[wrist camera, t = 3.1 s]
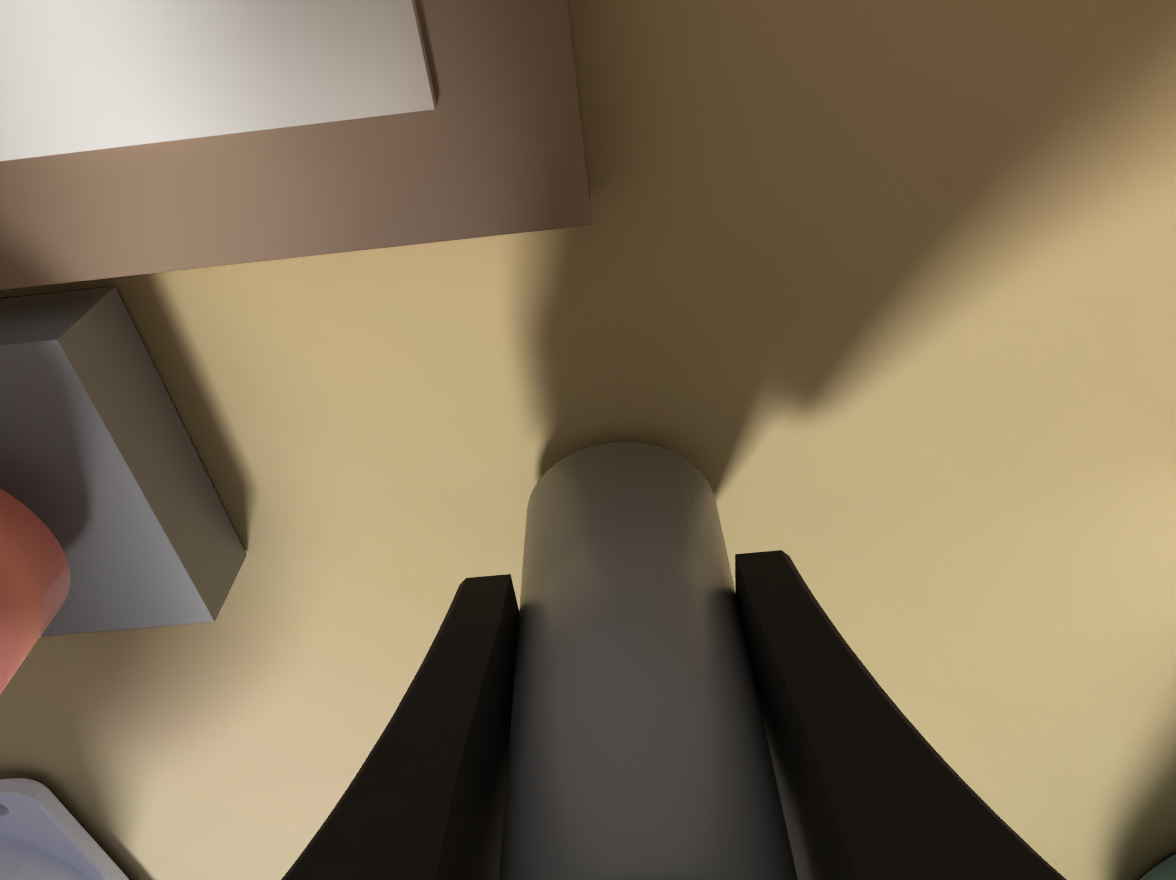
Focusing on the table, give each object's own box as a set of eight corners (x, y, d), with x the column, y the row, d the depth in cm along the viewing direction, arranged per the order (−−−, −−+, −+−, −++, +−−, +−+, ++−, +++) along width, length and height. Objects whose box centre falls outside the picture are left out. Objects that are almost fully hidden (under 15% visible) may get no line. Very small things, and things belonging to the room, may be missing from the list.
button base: (-32, 579, 14) (-90, 647, 13) (-232, 324, 11) (-332, 380, 10) (246, 554, 14) (214, 622, 13) (115, 286, 11) (57, 339, 10)
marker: (536, 597, 14) (500, 1251, 7) (504, 446, 12) (419, 1148, 5) (724, 580, 14) (859, 1237, 7) (721, 426, 12) (900, 1123, 5)
